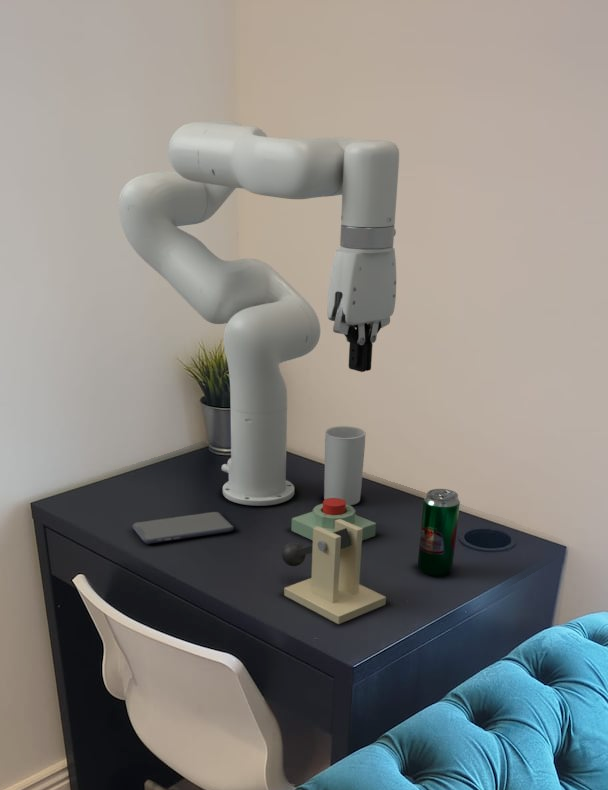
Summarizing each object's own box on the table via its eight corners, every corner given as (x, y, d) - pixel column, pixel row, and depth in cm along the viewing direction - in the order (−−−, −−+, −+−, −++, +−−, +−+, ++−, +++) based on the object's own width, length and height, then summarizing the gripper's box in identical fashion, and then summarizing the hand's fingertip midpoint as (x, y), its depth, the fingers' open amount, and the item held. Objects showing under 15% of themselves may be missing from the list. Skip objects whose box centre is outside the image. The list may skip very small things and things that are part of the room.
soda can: (410, 570, 143) (417, 493, 137) (430, 560, 146) (438, 484, 140) (438, 581, 140) (446, 503, 134) (458, 570, 143) (467, 493, 137)
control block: (291, 530, 156) (291, 507, 154) (331, 517, 161) (332, 494, 159) (334, 550, 149) (335, 526, 147) (375, 535, 154) (376, 512, 152)
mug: (367, 505, 166) (371, 436, 160) (329, 508, 164) (332, 439, 158) (348, 484, 174) (351, 419, 168) (312, 487, 173) (314, 422, 167)
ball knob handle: (281, 570, 139) (274, 548, 139) (299, 564, 141) (291, 542, 141) (338, 553, 128) (330, 529, 128) (356, 547, 130) (348, 523, 130)
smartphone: (235, 527, 155) (144, 540, 150) (235, 532, 155) (145, 546, 150) (218, 510, 161) (131, 522, 156) (218, 516, 161) (131, 528, 156)
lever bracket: (283, 595, 136) (285, 524, 131) (330, 577, 141) (333, 508, 136) (338, 624, 129) (342, 550, 123) (385, 604, 134) (391, 532, 128)
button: (317, 511, 153) (318, 501, 153) (334, 506, 155) (334, 496, 155) (333, 518, 151) (334, 507, 150) (350, 512, 153) (350, 502, 152)
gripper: (384, 232, 144) (376, 357, 153) (309, 240, 135) (306, 372, 145) (422, 237, 139) (411, 366, 148) (347, 246, 130) (341, 382, 139)
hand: (359, 369), depth 146 cm, fingers closed
